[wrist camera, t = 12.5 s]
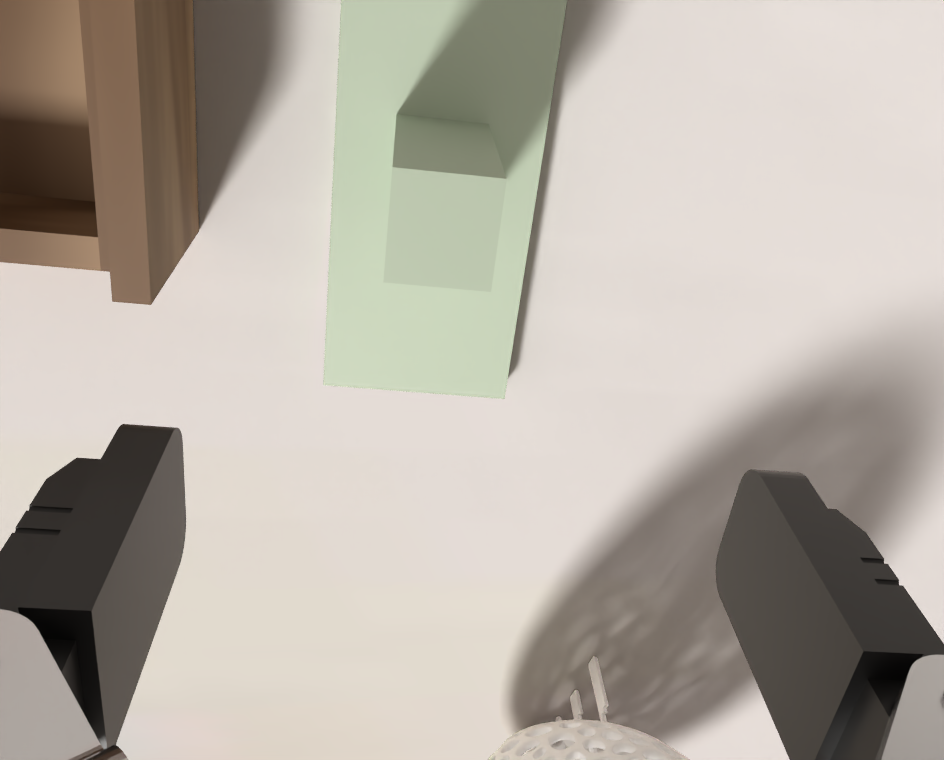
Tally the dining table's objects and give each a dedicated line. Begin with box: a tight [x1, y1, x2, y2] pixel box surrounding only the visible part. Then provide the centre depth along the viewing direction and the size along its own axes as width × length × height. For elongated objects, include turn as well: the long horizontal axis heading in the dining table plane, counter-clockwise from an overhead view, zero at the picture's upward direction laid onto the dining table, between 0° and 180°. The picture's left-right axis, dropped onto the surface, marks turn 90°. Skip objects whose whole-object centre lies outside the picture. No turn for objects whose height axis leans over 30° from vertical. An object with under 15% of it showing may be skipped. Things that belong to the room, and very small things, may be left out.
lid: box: [323, 0, 567, 399], centre depth 25 cm, size 6×16×7 cm, turn 173°
